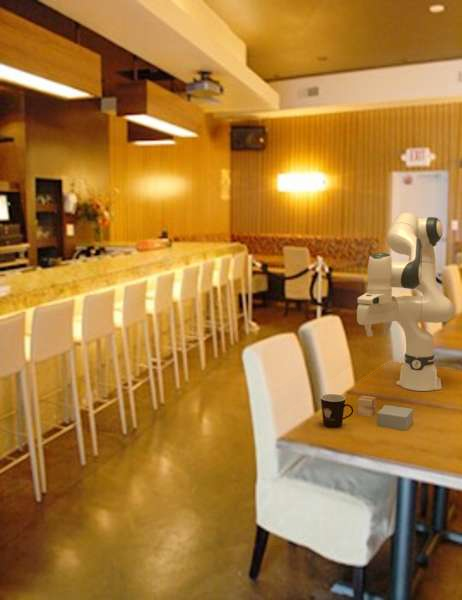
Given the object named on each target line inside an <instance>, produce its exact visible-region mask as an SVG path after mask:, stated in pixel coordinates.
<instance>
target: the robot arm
mask: <svg viewBox="0 0 462 600" xmlns="http://www.w3.org/2000/svg"><path fill="white" fill-rule="evenodd" d="M442 236H443V225H442V222H441V220H440V219H439V218H438V217H433V216H428V217H422V218H420V217H419V218H418V217H417V216H416V215H415V214H414V213H411V212H402V213H400V214H398V216H397V217H396V218H395V219H394V220H393V222H392V223H391V225H390V227H389V229H388V232H387V235H386V242H387V246H388V247H389V248H390V249H391V250H392V252H393V251H394V253H397V254H399V255H400V254H401V255H405V256H409V258H408V261H392V255H391V254H390V253H387V252H376V253H373V254H370V256H369V258H368V263H367V272H366V274H367V277H366V278H367V279H366V280H367V282H368V283H367V287H366V292H364V294H362V295H360V296H358V297H357V299H356V300H357V304H358V305H357V309H356V322H357V323H358V325H360V326H364V329H365V331H366V337H367V338H368V337H369V338H370V337H371V338H372V337H373V336H374V331H372V325H377V324H385V326H384V328H383V332H382V333H383V334H385V335H389V334H390V331H391V330H390V329H391V327H392V325H393V322H396V323H397V324H399V325H400V327H401V329H402V330H403V332H404V335H405V345H406V346H405V353H404V363H403V364H402V365H401V366H400V376H399V380H397V381H396V382H395V384H396V385H398V386H400V387H402V388H404V389H407V390H410V391H417V392H427V391H428V392H429V391H438V390H442V388H443V387H442V381H441V380H442V379H441V378H440V377H438V376H437V373H438V371H437V370H438V369H437V368H436V365H435V355H434V345H435V344H434V342H435V341H434V336H433V334H431V333H430V332H429V331H427V330H425V329H423V328H421V327H420V325H419V323H427V324H428V323H433V324H438V323H446V322H449V321H450V320H451V318H453V315H454V310H455V307H454V304H453V302H452V301H451V300H450V299H449V297H446V296H445V295H444V294H443V293H442V292H441V290H440V289H439V286H438V283H437V278H436V276H437V275H436V254H435V249H434V247H435V246H437V244H438V242H439V241H440V240H441V238H442ZM393 288H403V289H408V290H414V289H415V290H417V291H419V292H420V293H421V294H422V295H403V296H396V297H395V295H393V294H392V293H393Z"/></svg>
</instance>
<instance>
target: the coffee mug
mask: <svg viewBox="0 0 462 600" xmlns="http://www.w3.org/2000/svg"><path fill="white" fill-rule="evenodd" d="M320 405H321V415H322V421H323V422H322V423H323V426H324V427H326V428H329V429H339V428H341V427H342V426H343V420H345V419H348V418H350V417H351V416H352V415H353V413H354V408H353V406H352V405H350V403H349V404H348V403H346V397H345V396H344V395H341V394H337V393H328V394H323V395H321V396H320ZM346 407H349V408H350V410H351V412H350V413H349V414H348V415H346V416H344V410H345V408H346Z"/></svg>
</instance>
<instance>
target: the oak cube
mask: <svg viewBox="0 0 462 600" xmlns="http://www.w3.org/2000/svg"><path fill="white" fill-rule="evenodd" d="M375 413H376V397H375V396H367V395H361V396H360V397H359V398H358V399H357V415H358V416H363V417H373V415H374V414H375Z"/></svg>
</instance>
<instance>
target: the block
mask: <svg viewBox="0 0 462 600" xmlns="http://www.w3.org/2000/svg"><path fill="white" fill-rule="evenodd" d="M413 422H414V409H413V408H410V407H409V408H408V407H402V406H394V405H388V404H385V405H383V407H382V408H380V409H379V411H378V412H377V414H376V427H381V428H386V429H393V430H394V429H395V430H400V431H407V430H408V428H409V427H410V426H411V425H413V424H412V423H413Z"/></svg>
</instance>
